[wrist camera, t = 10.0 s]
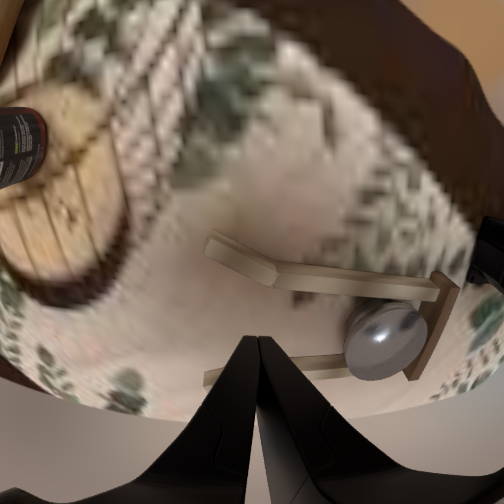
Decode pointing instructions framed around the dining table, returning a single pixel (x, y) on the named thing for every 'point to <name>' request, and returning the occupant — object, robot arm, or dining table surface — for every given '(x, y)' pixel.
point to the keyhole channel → (343, 283)
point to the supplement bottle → (20, 144)
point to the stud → (382, 338)
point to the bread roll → (7, 22)
